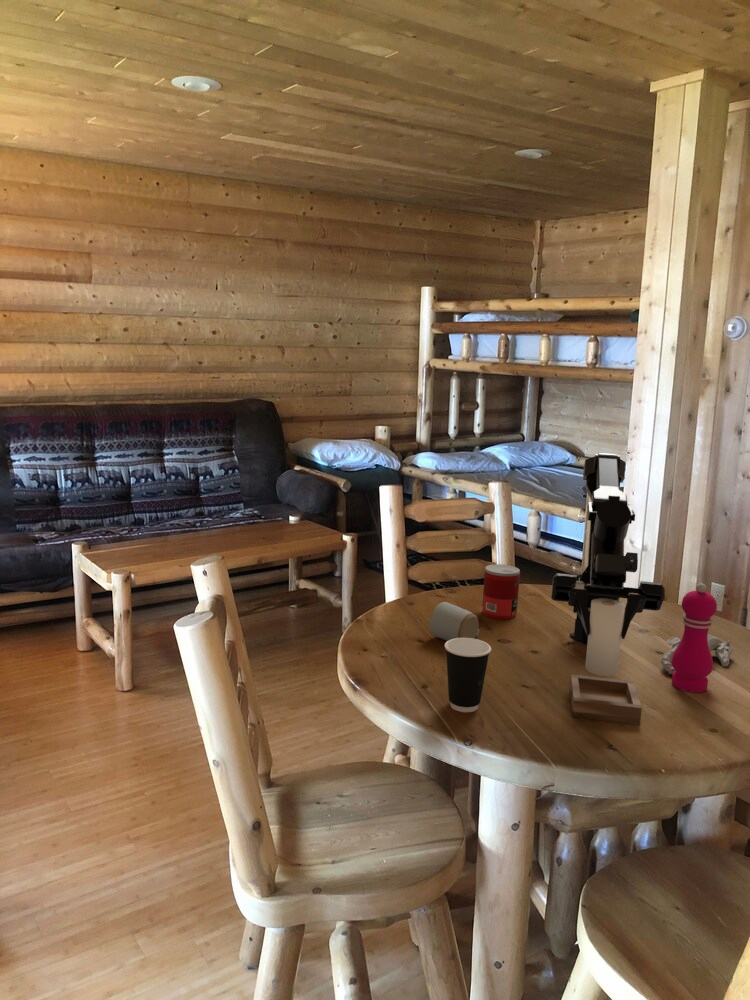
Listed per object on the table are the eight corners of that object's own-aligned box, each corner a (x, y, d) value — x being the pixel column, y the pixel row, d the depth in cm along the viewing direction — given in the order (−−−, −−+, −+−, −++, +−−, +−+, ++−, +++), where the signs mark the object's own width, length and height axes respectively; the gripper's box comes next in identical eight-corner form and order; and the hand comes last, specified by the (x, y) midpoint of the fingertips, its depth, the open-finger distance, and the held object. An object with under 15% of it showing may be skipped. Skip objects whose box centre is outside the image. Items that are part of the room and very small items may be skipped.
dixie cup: (434, 697, 141) (438, 638, 139) (476, 694, 143) (480, 636, 141) (450, 718, 133) (454, 656, 131) (494, 714, 135) (498, 653, 133)
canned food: (519, 620, 182) (522, 574, 179) (484, 619, 182) (487, 572, 180) (513, 609, 189) (517, 564, 187) (480, 608, 189) (483, 563, 187)
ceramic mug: (459, 651, 162) (462, 615, 161) (427, 640, 168) (430, 605, 166) (488, 638, 170) (490, 604, 169) (456, 628, 176) (459, 595, 174)
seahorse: (709, 683, 149) (745, 641, 163) (653, 648, 154) (693, 611, 169) (698, 703, 151) (734, 660, 165) (643, 668, 157) (683, 629, 171)
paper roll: (592, 660, 142) (598, 595, 140) (622, 668, 139) (629, 602, 137) (580, 669, 138) (586, 603, 136) (610, 678, 135) (617, 610, 132)
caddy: (569, 689, 146) (570, 674, 145) (631, 696, 144) (633, 681, 143) (572, 716, 135) (573, 700, 135) (639, 724, 133) (641, 708, 133)
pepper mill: (662, 677, 153) (673, 577, 149) (698, 677, 154) (710, 577, 150) (679, 694, 146) (692, 589, 142) (717, 693, 147) (731, 589, 143)
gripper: (557, 529, 139) (552, 609, 131) (669, 538, 136) (671, 621, 127) (553, 560, 149) (548, 637, 140) (658, 570, 145) (660, 649, 137)
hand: (605, 636), depth 136 cm, fingers closed on paper roll, 5 cm apart
